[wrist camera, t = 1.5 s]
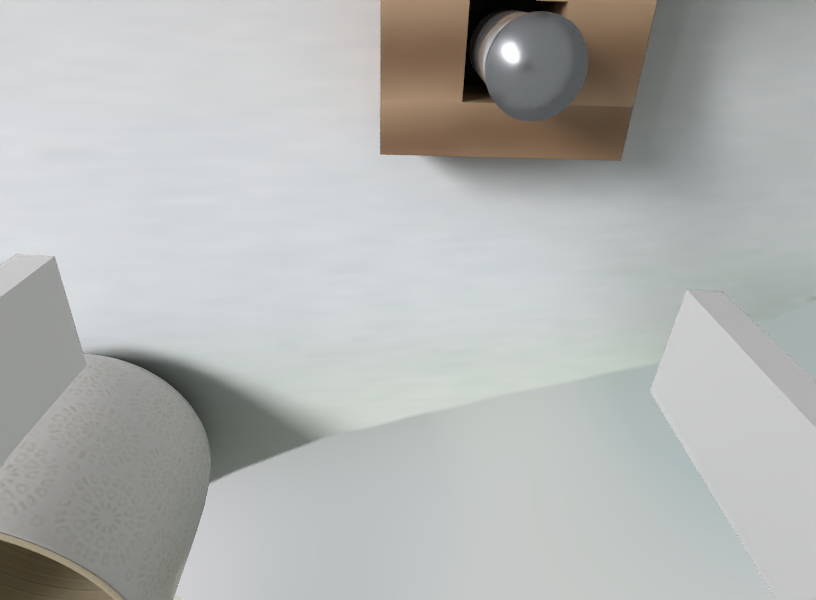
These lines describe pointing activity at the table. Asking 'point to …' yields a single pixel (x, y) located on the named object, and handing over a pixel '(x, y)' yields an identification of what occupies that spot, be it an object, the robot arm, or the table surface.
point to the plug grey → (529, 62)
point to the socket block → (472, 104)
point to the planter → (104, 491)
